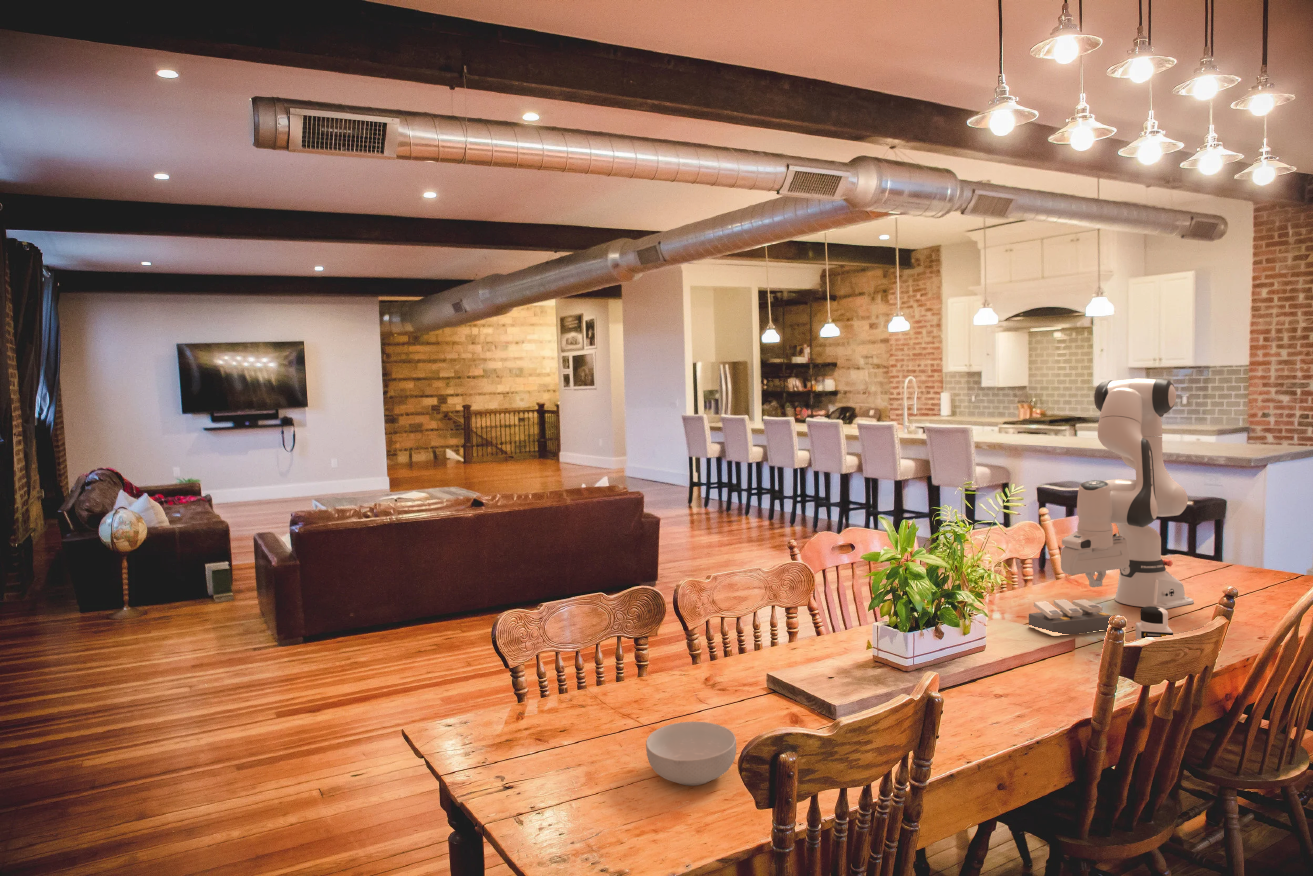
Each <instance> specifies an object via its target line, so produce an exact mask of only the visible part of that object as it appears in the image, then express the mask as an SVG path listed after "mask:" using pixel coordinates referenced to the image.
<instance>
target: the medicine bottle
mask: <svg viewBox="0 0 1313 876" xmlns="http://www.w3.org/2000/svg"><path fill="white" fill-rule="evenodd" d="M1139 611H1140V616H1139V617H1140V622H1138V621H1137V622H1135V641H1136V640H1137V639H1141V638H1145V637H1162V636H1166V635H1173V636H1174V631H1173V630H1172V629H1171V628H1170V627H1169V611H1167V609H1163V608H1160V607H1153V606H1147V607H1141V608H1140V610H1139Z"/></svg>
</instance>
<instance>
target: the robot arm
mask: <svg viewBox="0 0 1313 876" xmlns="http://www.w3.org/2000/svg"><path fill="white" fill-rule="evenodd" d="M1176 400H1177V391H1176V387H1175V385H1174V384H1173V383H1172V382H1171V380H1170V379H1165V378H1156V379H1153V378H1137V377H1136V378H1130V379H1129V378H1128V379H1119V380H1106V381H1102V382H1100V383H1099V384H1098V385H1096V387H1095V390H1094V395H1093V401H1094V405H1095V408H1096V409H1097V410H1098V411H1099V412H1100V415H1099V419H1098V423H1097V425H1098V426H1097V438H1098V441H1099V442H1100V444H1101V445H1102V446H1103V447H1105V449H1107V450H1109V451H1110V452H1113V453H1114V454H1117V455H1119V456H1120V458H1121V460H1122V461H1123V463H1124V464H1125V465H1126V466H1127V467H1130V468H1132V469H1134V470H1135V479H1129V478H1128V479H1127V478H1115V479H1109V480H1108V479H1107V480H1106V479H1105V480H1097V479H1094V480H1092V479H1091V480H1087V481H1084V482H1082V483H1080V485H1079V487H1078V491H1077V498H1076V499H1077V500H1076V515H1077V516H1078V523H1077V526H1076V527H1077V528H1076V529H1077V530H1076V531H1075V532H1072V533H1071V534H1068V535H1067V536H1065V537H1063V538H1062V539H1061V545H1062V546H1063V548H1062V550H1061V552H1060V569H1061V571H1062V573H1064V574H1066V575H1070V576H1075V575H1076V576H1077V575H1083V574H1085V576H1086V578H1087V580H1088V583H1089V584H1088V585H1089V587H1091V588H1098V587H1103V581H1104V579H1105V577H1106V575H1107V571H1114V570H1119V576H1118V580H1117V581H1118V582H1117V587H1116V588H1117V589H1116V592H1115V597H1114V601H1116V602H1117V603H1120V604H1124V605H1127V606H1134V607H1141V608H1143V607H1147V606H1153V607H1160V608H1163V609H1165V610H1167V609H1171V608H1177V607H1181V606H1186V605H1191V604H1194V603H1195V602H1194V599H1193V598H1191V597H1189V596H1186V595H1185V594H1186V593H1185V587H1184V584H1183V583H1182V582H1181V580H1179V579H1178V578H1176V577H1175V576H1173V575H1172V574H1171V573H1170V572H1168V571H1167V568H1166V566H1167V567H1169V568H1170V567H1172V565H1174V564H1173V563H1174V562H1173V561H1172V560H1171V559H1167V558H1166V559H1164V560H1163V558H1162V537H1161V535H1160V533H1159V532H1158V531H1157V529H1155V528H1153V527H1151V524H1152V523H1154V521H1156V520H1157V517H1162V518H1163V517H1174V516H1180V515H1181V514H1182V513H1183V512H1184V511H1185V510H1186V509H1187V506H1188V502H1189V499H1188V494H1187V492H1186V490H1185V488H1184V487H1183V486H1182V485H1181V484H1179V483H1178V482H1176V480H1174V479H1173V478H1172V477H1171V475H1170V473H1169V472H1168V470H1167V468H1166V466H1165V463H1164V457H1163V453H1164V452H1163V421H1162V418H1163V417H1164V415H1165V414H1166V413H1169V412H1170V411H1171V410H1172V409H1173V408H1174V405H1175V402H1176ZM1112 524H1115V525H1116V528H1117V531H1118V534H1119V535H1116V536H1114V531H1113V530H1114V529H1113V525H1112ZM1096 574H1097V575H1096ZM1095 576H1096V577H1095Z"/></svg>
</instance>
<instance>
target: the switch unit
mask: <svg viewBox="0 0 1313 876" xmlns="http://www.w3.org/2000/svg"><path fill="white" fill-rule="evenodd" d="M1078 608H1079V607H1078ZM1079 609H1080V610H1081V611H1083V613H1082V615H1080V616H1068V615H1067V614H1066V613H1064V612H1063V611H1062V610H1060V609H1058V610H1059V611H1060V612H1061V613H1063V616H1062V617H1061V618H1052V619H1050V618H1048V617H1047V616H1046V615H1044V614H1043V613H1042V612H1041V611H1039V612H1032V613H1028V626H1029V625H1032V626H1034V627H1038V628H1042V629H1046V630H1049V631H1052V632H1058V633H1062V634H1076V635H1080V634H1079V633H1085V634H1088V633H1087V632H1093V631H1099V630H1105V631H1104V632H1107V631H1106V630H1107V628H1108V625H1109V623H1108V621H1109V618H1110V617H1111V616H1113V615H1112V614H1109V613H1107V612H1104V611H1098V612H1088V611H1086V610H1084V609H1082V608H1079ZM1093 633H1094V632H1093Z"/></svg>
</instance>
